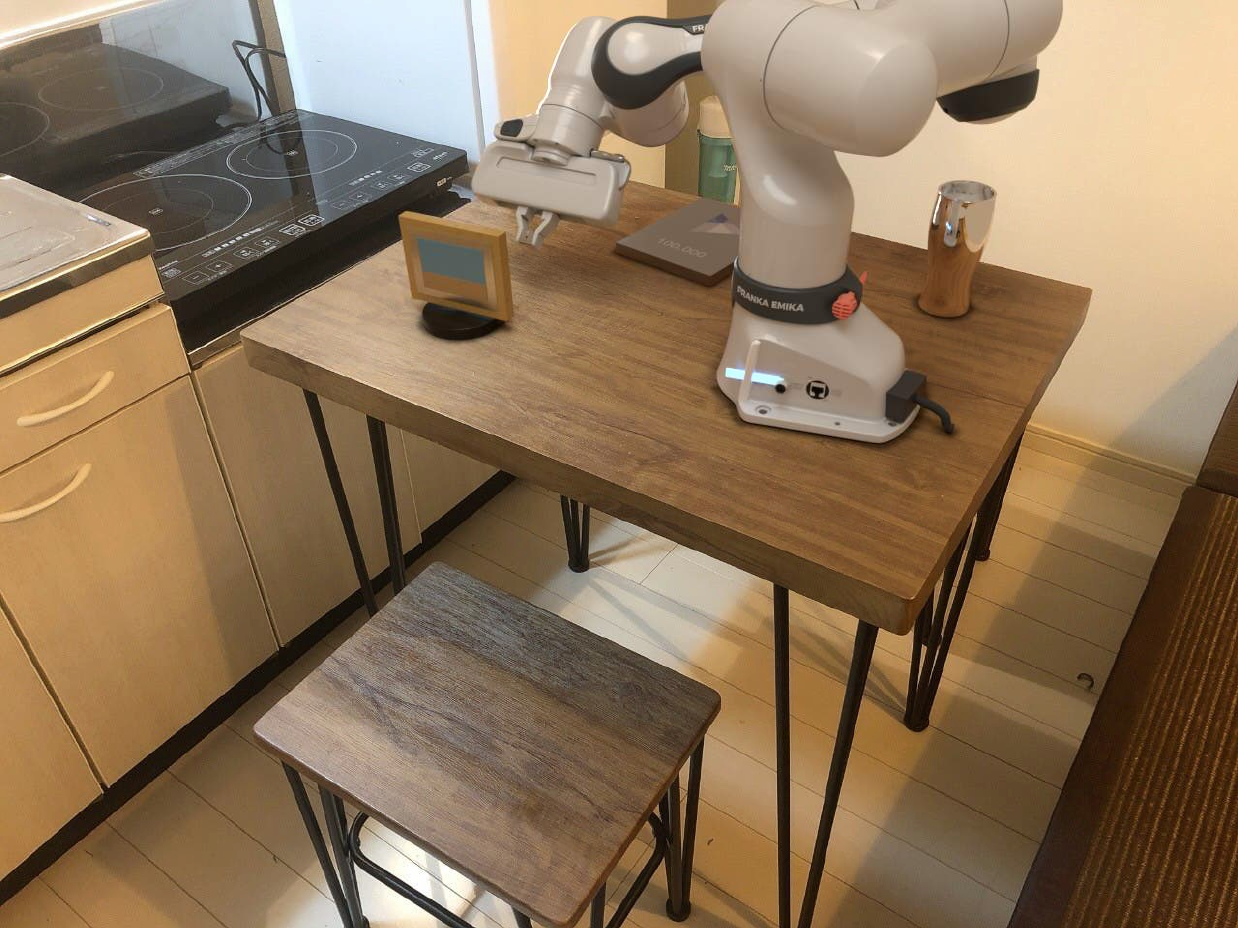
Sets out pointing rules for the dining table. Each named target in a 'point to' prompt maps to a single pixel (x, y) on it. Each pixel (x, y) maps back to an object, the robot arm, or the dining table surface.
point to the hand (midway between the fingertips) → (527, 246)
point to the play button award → (690, 241)
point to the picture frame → (457, 265)
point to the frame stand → (456, 323)
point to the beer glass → (956, 245)
